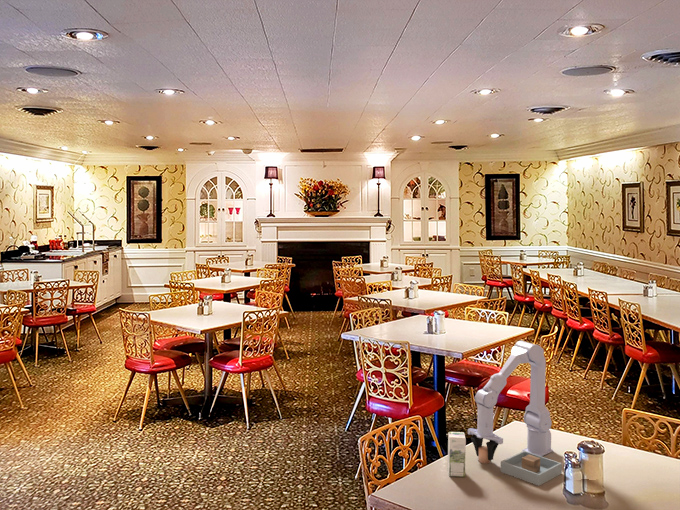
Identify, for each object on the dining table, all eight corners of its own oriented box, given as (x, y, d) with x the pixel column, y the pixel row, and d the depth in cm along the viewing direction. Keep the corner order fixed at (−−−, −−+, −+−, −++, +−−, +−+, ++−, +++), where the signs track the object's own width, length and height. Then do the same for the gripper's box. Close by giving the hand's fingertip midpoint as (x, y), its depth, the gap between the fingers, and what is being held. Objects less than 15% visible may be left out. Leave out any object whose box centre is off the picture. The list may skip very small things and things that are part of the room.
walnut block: (528, 466, 219) (528, 454, 219) (540, 470, 216) (540, 458, 215) (521, 470, 216) (521, 457, 216) (533, 474, 213) (533, 461, 212)
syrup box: (463, 470, 218) (464, 431, 217) (465, 477, 212) (465, 437, 211) (447, 470, 218) (448, 430, 217) (448, 477, 212) (449, 436, 212)
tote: (523, 460, 227) (524, 450, 227) (561, 473, 215) (561, 463, 215) (500, 471, 217) (500, 461, 217) (538, 485, 205) (538, 475, 205)
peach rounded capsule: (483, 457, 229) (483, 445, 229) (493, 461, 226) (493, 448, 226) (475, 461, 226) (476, 448, 226) (486, 464, 223) (486, 451, 223)
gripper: (462, 419, 228) (462, 454, 229) (495, 429, 217) (494, 466, 218) (474, 415, 233) (473, 449, 234) (506, 425, 222) (506, 461, 223)
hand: (484, 457), depth 226 cm, fingers closed on peach rounded capsule, 5 cm apart
